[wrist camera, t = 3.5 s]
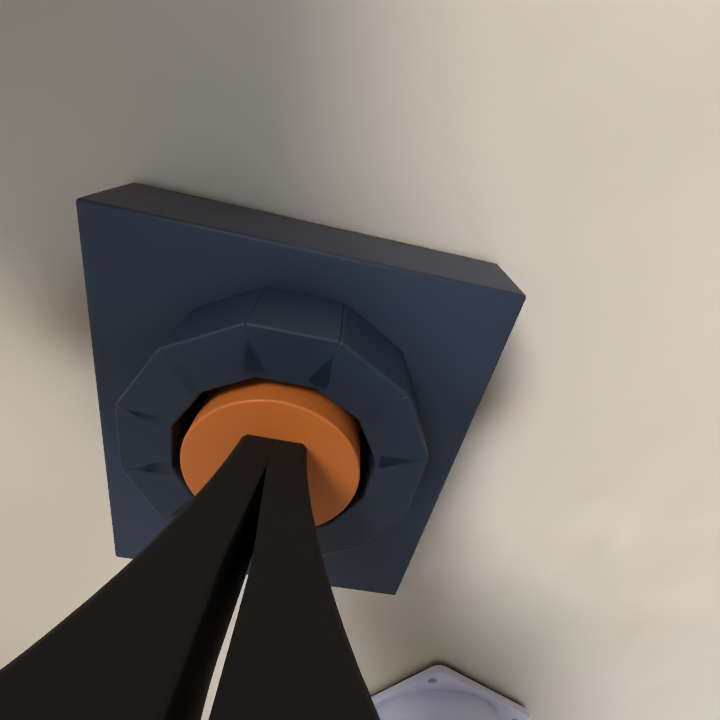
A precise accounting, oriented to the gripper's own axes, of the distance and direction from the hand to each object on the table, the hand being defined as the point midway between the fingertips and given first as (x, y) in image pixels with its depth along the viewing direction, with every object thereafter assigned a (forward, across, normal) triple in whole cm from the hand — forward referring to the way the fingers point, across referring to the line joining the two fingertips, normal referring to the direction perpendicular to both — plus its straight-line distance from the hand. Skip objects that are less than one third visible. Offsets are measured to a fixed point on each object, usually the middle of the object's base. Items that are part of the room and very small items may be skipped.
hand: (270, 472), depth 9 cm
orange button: (+2, 0, 0) cm, 2 cm away
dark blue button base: (+5, 0, +2) cm, 5 cm away
